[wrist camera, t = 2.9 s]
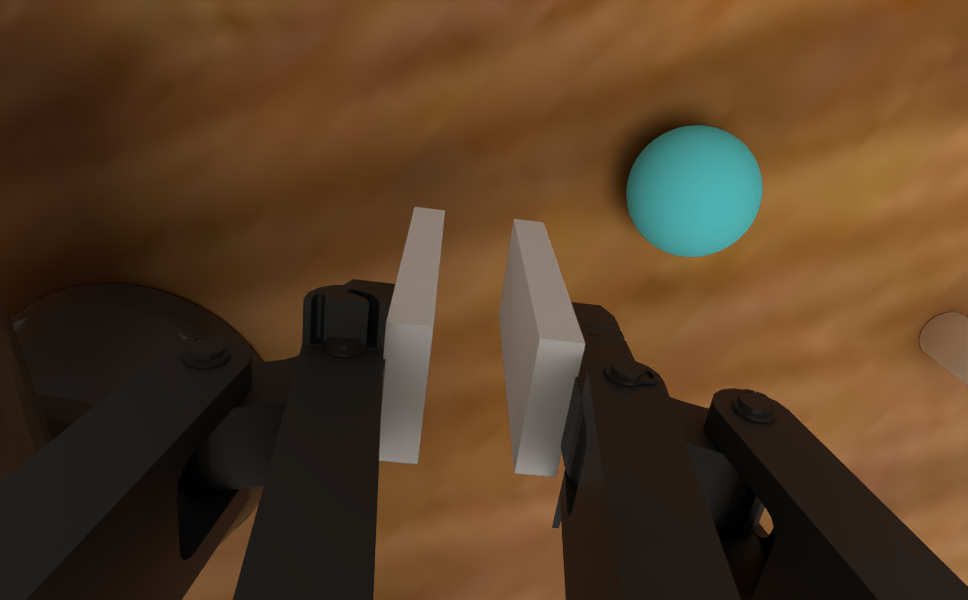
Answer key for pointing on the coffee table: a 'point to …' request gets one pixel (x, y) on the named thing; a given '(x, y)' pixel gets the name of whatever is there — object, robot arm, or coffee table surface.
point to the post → (947, 343)
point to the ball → (694, 191)
